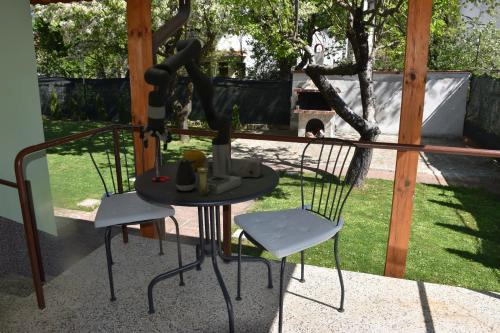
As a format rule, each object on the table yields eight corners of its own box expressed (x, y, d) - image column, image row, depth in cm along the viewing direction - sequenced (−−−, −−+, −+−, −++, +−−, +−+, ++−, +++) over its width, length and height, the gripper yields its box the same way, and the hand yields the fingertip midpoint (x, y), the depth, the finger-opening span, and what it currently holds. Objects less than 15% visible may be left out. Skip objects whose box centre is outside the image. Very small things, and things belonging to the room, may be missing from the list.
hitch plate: (222, 181, 211) (222, 172, 210) (241, 185, 204) (241, 175, 203) (198, 190, 197) (198, 180, 195) (217, 194, 190) (217, 184, 189)
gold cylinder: (203, 191, 194) (202, 166, 191) (211, 193, 191) (209, 168, 188) (196, 194, 190) (195, 168, 187) (204, 196, 187) (202, 170, 185)
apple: (194, 166, 247) (193, 147, 244) (210, 168, 239) (209, 149, 237) (178, 170, 237) (177, 151, 234) (195, 173, 229) (194, 153, 227)
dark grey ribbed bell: (198, 191, 195) (197, 160, 191) (176, 193, 192) (174, 162, 188) (195, 185, 204) (193, 156, 201) (174, 188, 202) (172, 157, 198)
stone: (236, 178, 217) (235, 160, 214) (240, 173, 228) (239, 155, 225) (260, 179, 215) (260, 160, 212) (263, 173, 226) (262, 155, 224)
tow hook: (156, 178, 223) (149, 181, 214) (155, 154, 220) (148, 157, 211) (171, 178, 221) (165, 182, 212) (170, 154, 219) (164, 157, 210)
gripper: (174, 115, 181) (173, 148, 188) (143, 110, 183) (143, 143, 189) (169, 120, 175) (168, 154, 181) (137, 115, 176) (137, 149, 183)
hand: (155, 149), depth 185 cm, fingers open, 8 cm apart
